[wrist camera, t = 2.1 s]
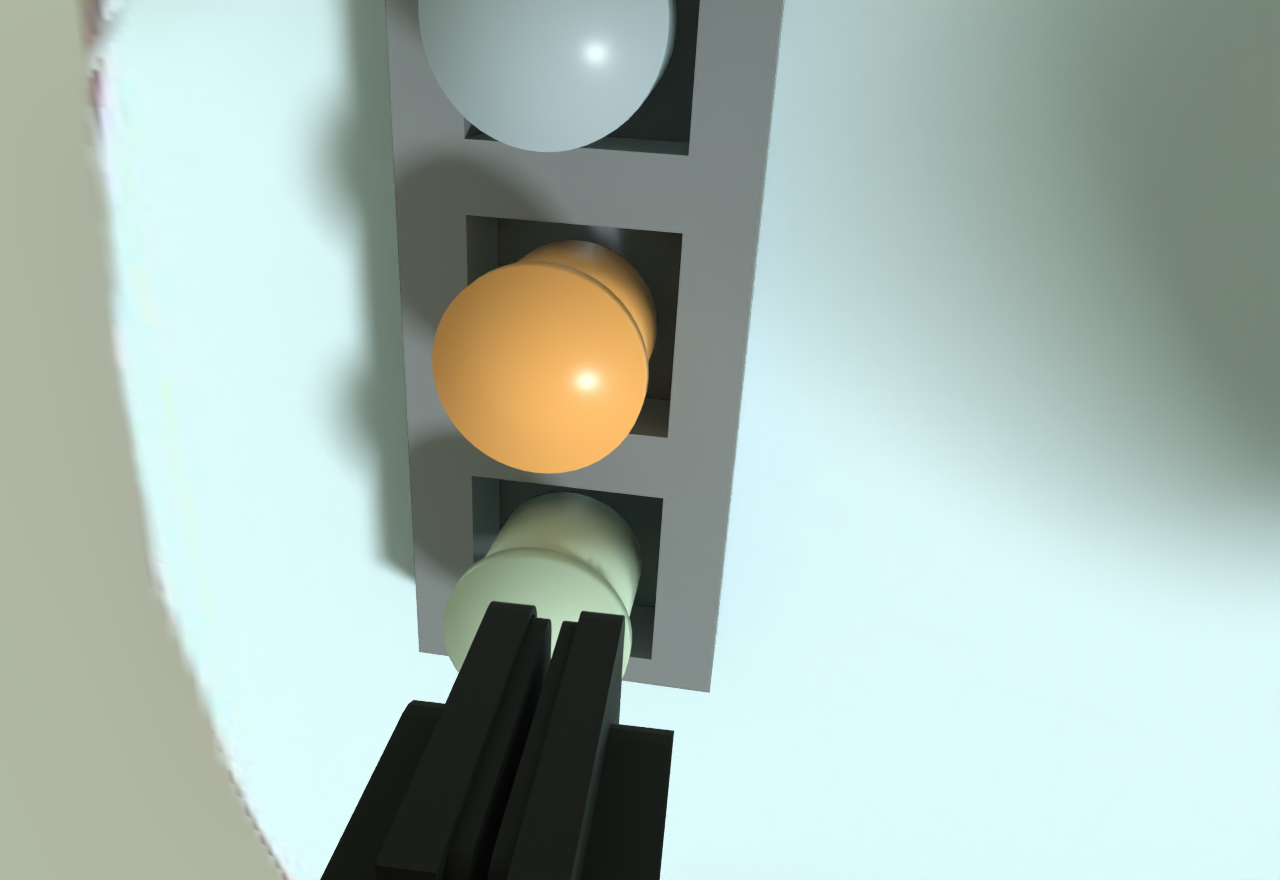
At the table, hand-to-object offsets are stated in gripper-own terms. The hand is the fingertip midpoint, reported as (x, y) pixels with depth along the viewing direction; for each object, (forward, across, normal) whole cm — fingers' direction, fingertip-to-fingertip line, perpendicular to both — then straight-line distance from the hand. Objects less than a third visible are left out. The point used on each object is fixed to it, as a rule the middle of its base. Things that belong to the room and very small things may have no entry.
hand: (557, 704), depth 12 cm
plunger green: (+17, +3, +8) cm, 19 cm away
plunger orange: (+17, +3, 0) cm, 17 cm away
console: (+19, +2, 0) cm, 19 cm away
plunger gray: (+17, +3, -8) cm, 19 cm away
